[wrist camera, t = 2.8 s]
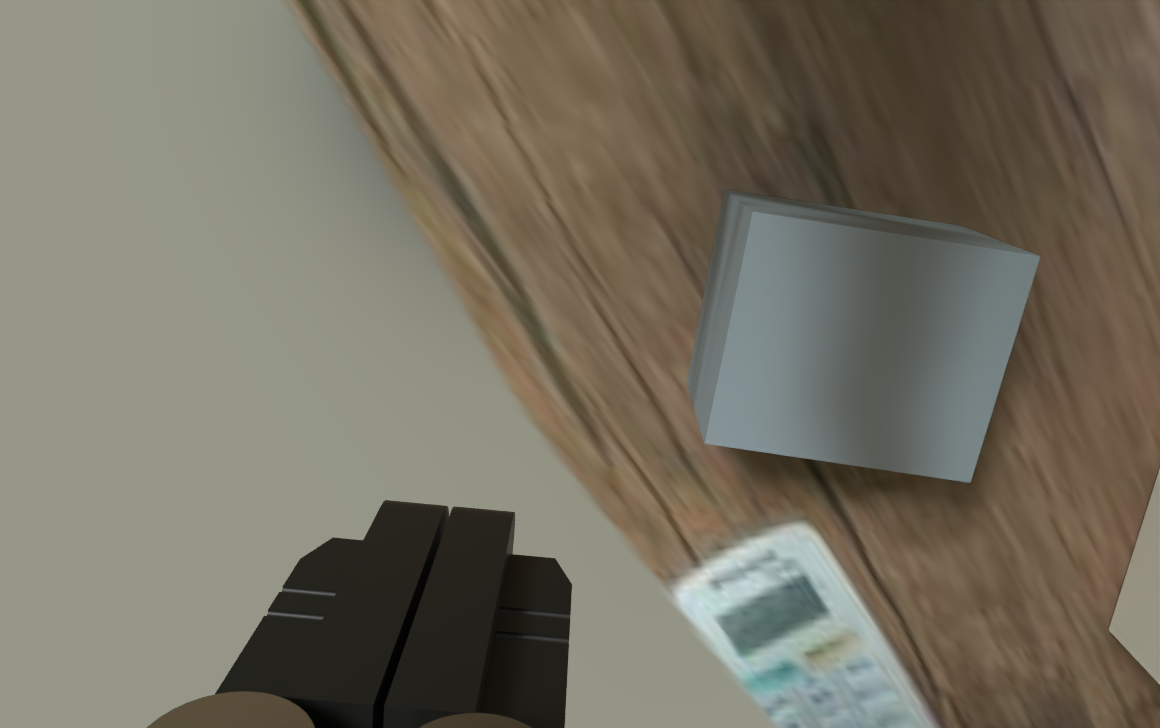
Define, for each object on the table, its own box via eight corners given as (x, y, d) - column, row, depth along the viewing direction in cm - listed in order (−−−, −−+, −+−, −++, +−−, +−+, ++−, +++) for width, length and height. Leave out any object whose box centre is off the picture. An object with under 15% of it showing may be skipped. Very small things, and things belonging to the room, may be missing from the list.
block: (685, 382, 28) (704, 443, 23) (724, 188, 26) (752, 211, 21) (906, 414, 28) (970, 482, 23) (959, 225, 26) (1040, 256, 21)
